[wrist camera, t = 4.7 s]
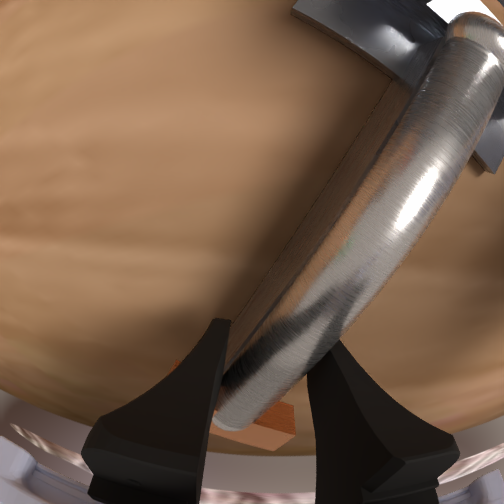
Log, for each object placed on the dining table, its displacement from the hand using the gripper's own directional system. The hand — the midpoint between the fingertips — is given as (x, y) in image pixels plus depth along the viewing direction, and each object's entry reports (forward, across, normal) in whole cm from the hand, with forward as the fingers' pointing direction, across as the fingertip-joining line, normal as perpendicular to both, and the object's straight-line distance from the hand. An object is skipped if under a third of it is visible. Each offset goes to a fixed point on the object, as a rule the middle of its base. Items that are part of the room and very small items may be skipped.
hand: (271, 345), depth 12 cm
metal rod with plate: (0, -2, -5) cm, 5 cm away
